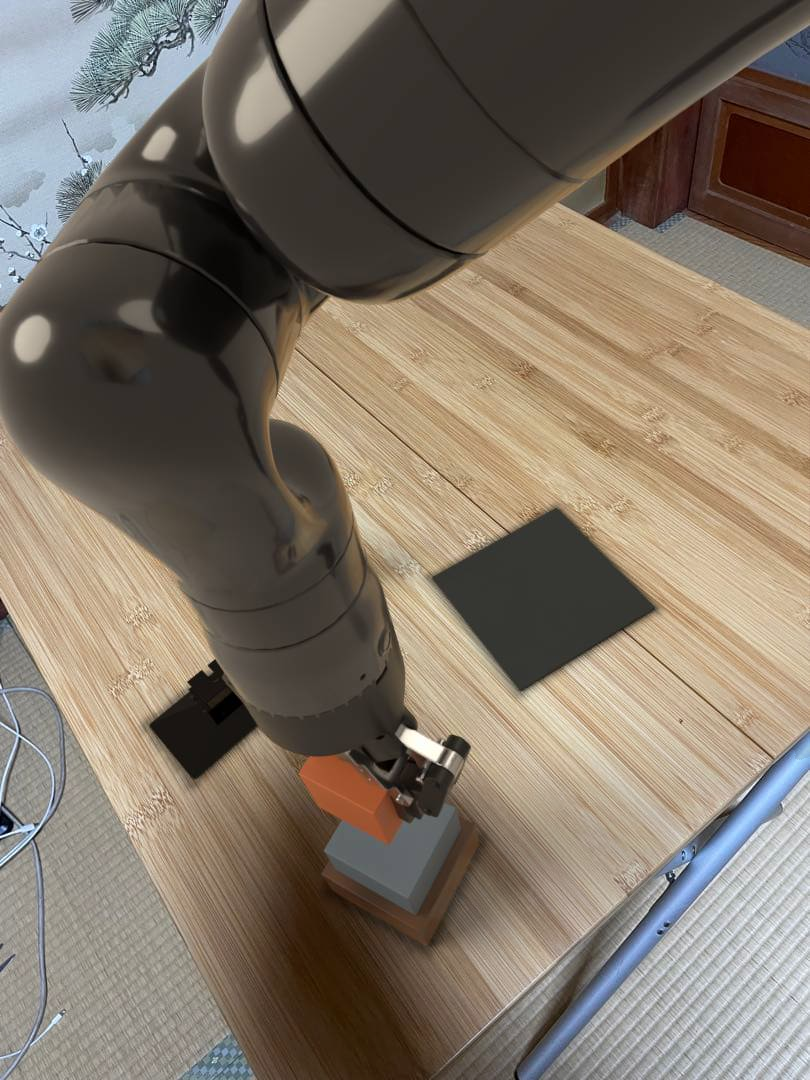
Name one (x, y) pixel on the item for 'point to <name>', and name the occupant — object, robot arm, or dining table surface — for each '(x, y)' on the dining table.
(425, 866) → the middle block
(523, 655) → the mat
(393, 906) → the base block
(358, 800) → the top block
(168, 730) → the build plate
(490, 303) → the dining table surface
